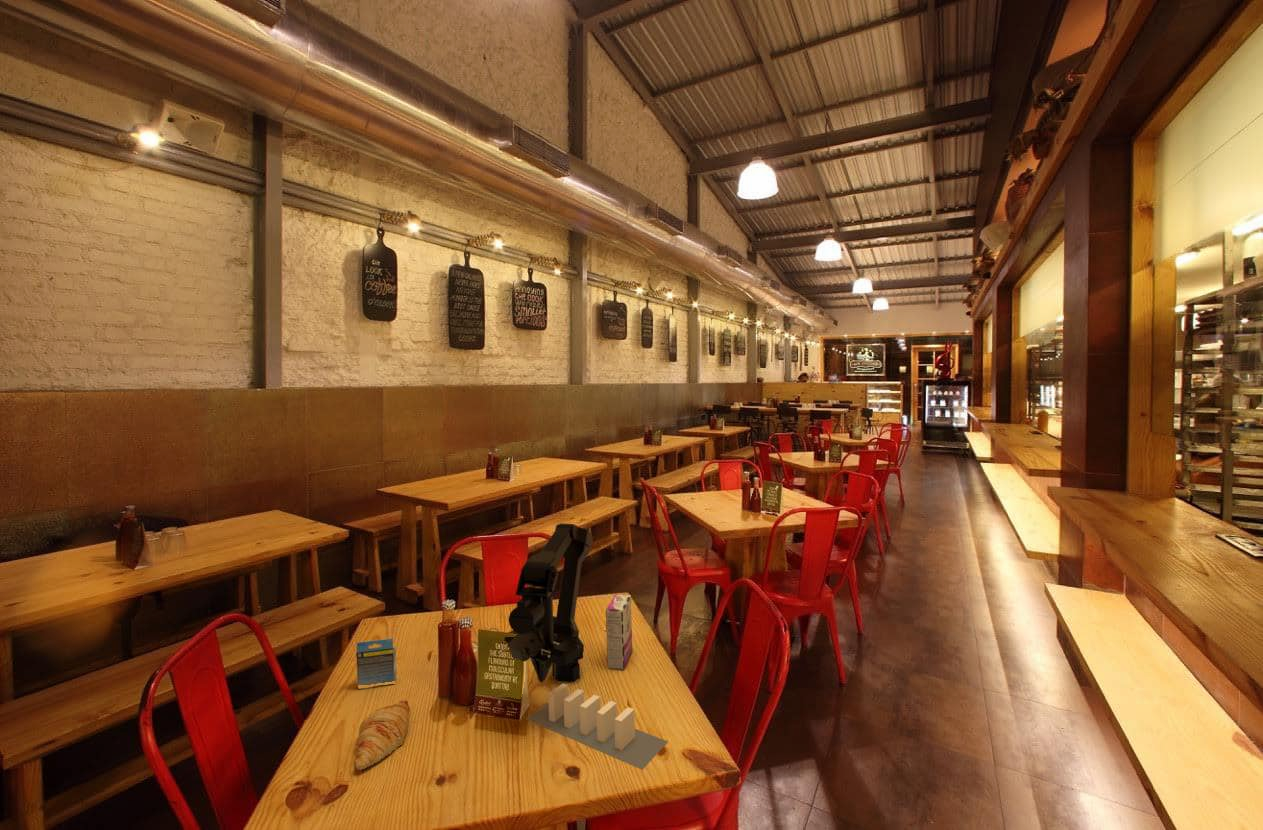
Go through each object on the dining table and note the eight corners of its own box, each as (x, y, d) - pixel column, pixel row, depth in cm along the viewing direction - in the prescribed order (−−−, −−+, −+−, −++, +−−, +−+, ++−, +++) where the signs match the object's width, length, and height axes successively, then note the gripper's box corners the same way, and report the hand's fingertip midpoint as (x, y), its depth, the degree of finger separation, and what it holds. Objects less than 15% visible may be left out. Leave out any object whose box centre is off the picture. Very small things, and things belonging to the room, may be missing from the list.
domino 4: (597, 740, 114) (596, 712, 114) (611, 727, 118) (610, 700, 118) (603, 742, 113) (602, 714, 113) (617, 730, 117) (616, 703, 117)
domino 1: (548, 719, 122) (548, 693, 121) (563, 708, 126) (563, 683, 126) (554, 722, 121) (553, 695, 120) (568, 710, 125) (568, 685, 125)
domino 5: (615, 747, 112) (614, 719, 111) (628, 734, 116) (628, 707, 116) (621, 750, 111) (621, 721, 111) (634, 737, 115) (634, 709, 115)
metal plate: (525, 723, 122) (525, 718, 122) (555, 701, 130) (555, 697, 130) (642, 774, 105) (642, 769, 105) (668, 746, 113) (668, 741, 113)
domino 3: (580, 733, 117) (579, 705, 116) (594, 721, 121) (594, 694, 121) (586, 735, 116) (585, 708, 116) (600, 723, 120) (599, 696, 120)
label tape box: (397, 677, 143) (395, 631, 143) (394, 685, 139) (393, 638, 139) (360, 682, 141) (358, 636, 140) (357, 691, 137) (355, 643, 136)
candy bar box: (615, 649, 156) (614, 593, 156) (632, 651, 155) (631, 594, 155) (606, 669, 146) (605, 608, 145) (624, 670, 145) (623, 610, 144)
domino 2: (564, 726, 119) (563, 699, 119) (578, 714, 123) (578, 688, 123) (570, 728, 118) (569, 701, 118) (584, 717, 122) (583, 691, 122)
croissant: (374, 792, 106) (392, 757, 106) (327, 770, 106) (345, 735, 106) (416, 724, 128) (431, 695, 127) (377, 706, 127) (392, 676, 127)
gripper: (485, 618, 124) (487, 685, 124) (547, 638, 113) (548, 711, 114) (520, 602, 133) (522, 664, 134) (580, 618, 123) (582, 686, 123)
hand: (542, 681), depth 126 cm, fingers closed
